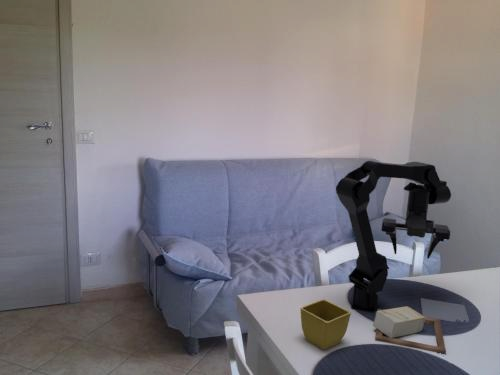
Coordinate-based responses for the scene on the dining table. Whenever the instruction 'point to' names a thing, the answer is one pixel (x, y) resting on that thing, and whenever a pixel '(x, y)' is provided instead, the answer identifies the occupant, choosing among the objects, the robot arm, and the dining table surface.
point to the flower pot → (324, 323)
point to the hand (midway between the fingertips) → (411, 256)
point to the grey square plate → (443, 310)
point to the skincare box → (398, 321)
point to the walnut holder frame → (439, 339)
